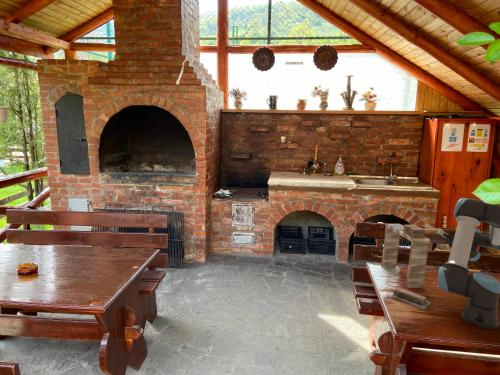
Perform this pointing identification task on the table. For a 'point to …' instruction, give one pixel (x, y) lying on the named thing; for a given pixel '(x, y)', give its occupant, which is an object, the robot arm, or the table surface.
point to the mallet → (418, 231)
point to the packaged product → (410, 298)
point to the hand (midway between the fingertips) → (432, 228)
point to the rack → (416, 254)
